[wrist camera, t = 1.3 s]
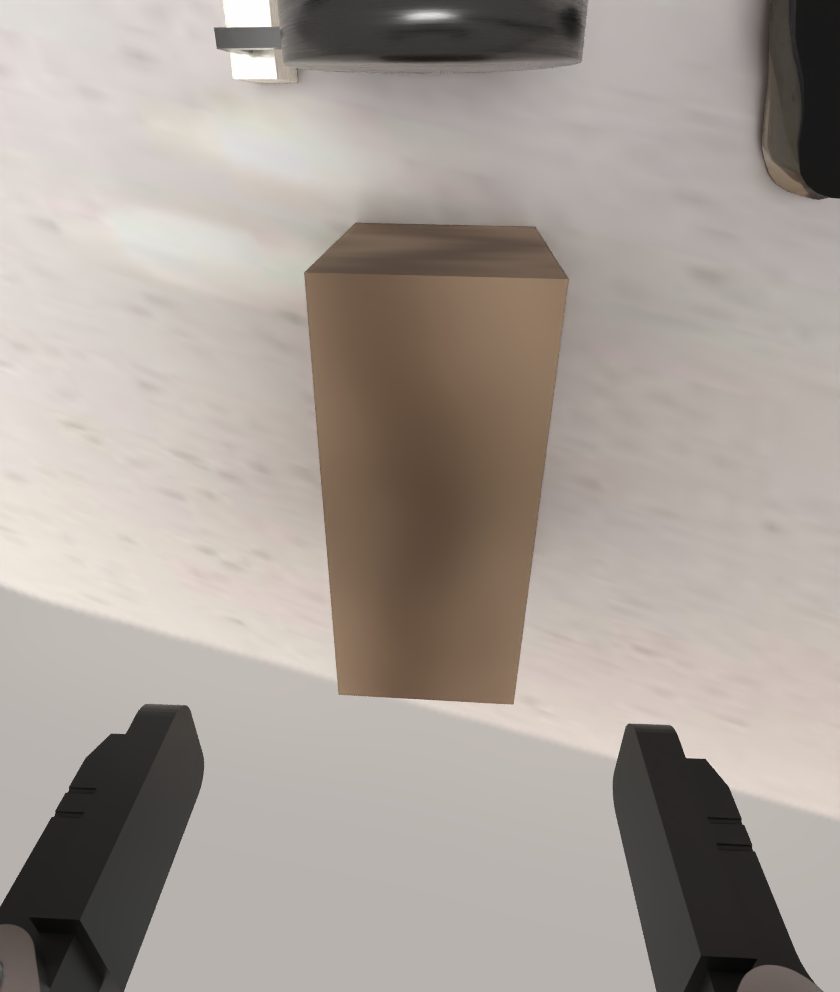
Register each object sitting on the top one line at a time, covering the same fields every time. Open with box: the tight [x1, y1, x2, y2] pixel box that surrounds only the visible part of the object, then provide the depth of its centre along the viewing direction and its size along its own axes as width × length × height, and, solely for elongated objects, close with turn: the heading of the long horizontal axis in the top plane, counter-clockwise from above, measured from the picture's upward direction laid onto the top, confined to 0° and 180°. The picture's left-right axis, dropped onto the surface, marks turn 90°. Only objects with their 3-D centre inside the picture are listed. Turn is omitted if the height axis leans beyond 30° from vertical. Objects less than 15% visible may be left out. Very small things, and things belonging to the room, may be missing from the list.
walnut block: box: [304, 223, 569, 704], centre depth 21 cm, size 6×14×8 cm, turn 179°
